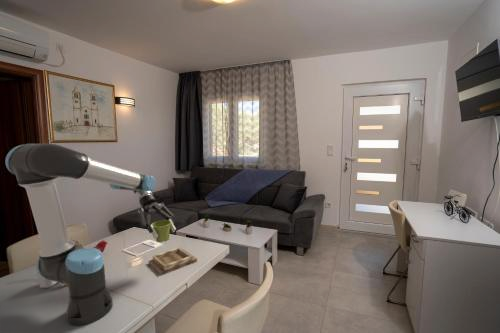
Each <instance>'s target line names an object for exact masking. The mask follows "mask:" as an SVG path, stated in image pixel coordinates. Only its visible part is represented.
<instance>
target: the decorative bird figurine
mask: <svg viewBox="0 0 500 333" xmlns="http://www.w3.org/2000/svg"><path fill="white" fill-rule="evenodd" d="M108 244H109V242H107V241H105V240H101V241H99V242H98V243H97V244H96V245H95V246H93V247H92V248H96V249H98V250H100V251H101V252H102V254H103V253H104V252H105V249H106V247H107V245H108Z"/></svg>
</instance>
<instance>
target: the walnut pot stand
mask: <svg viewBox="0 0 500 333" xmlns="http://www.w3.org/2000/svg"><path fill="white" fill-rule="evenodd" d="M147 262H148V265H150V267H151V268H152V269H153V270H154V271H155V272H156V273H157V274H159V275H160V276H162V275H165V274H167V273H170V272H172V271H176V270H178V269H181V268H184V267H185V266H189V265H191V264H194V263H197V262H198V258H197V257H195V256H194V255H192V254H191V253H189V252H188V251H187V250H185V249H183V248H181V247H180V246H179V247H175V248H173V249H169V250H167V251H163V252H161V253H158V254H155V255H152V259H150V260H148V261H147Z"/></svg>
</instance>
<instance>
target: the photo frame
mask: <svg viewBox="0 0 500 333" xmlns="http://www.w3.org/2000/svg"><path fill="white" fill-rule="evenodd" d="M141 244H143V245H146V246H149V247H151V248H149V249H148V250H145V251H143V252H141V253H140V252H139V253H138V254H136V253H133V252H132V251H129V249H132V248H135V247H137V246H139V245H141ZM162 246H164V244H163V243H162V242H157V241H156V240H152V239H147V240H143V241H142V242H139V243H137V244H134V245H131V246H128V247H126V248H124V249H122V251H123V252H125V253H127V254H130V255H132V256H134V257H138V256H140V255H143V254H145V253H148V252H150V251H152V250H156V249H157V248H160V247H162Z"/></svg>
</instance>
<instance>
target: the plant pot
mask: <svg viewBox="0 0 500 333" xmlns="http://www.w3.org/2000/svg"><path fill="white" fill-rule="evenodd" d="M170 224H171V221H169V220H166V219H165V220H164V219H162V220H158V221H154V222H152V223H150V225H153V227H154V229H155V231H156V233H157V235H158V237H157V238H156V239H155V242H158V243H163V242H167V241H169V240H170V232H171V228H170Z"/></svg>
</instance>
